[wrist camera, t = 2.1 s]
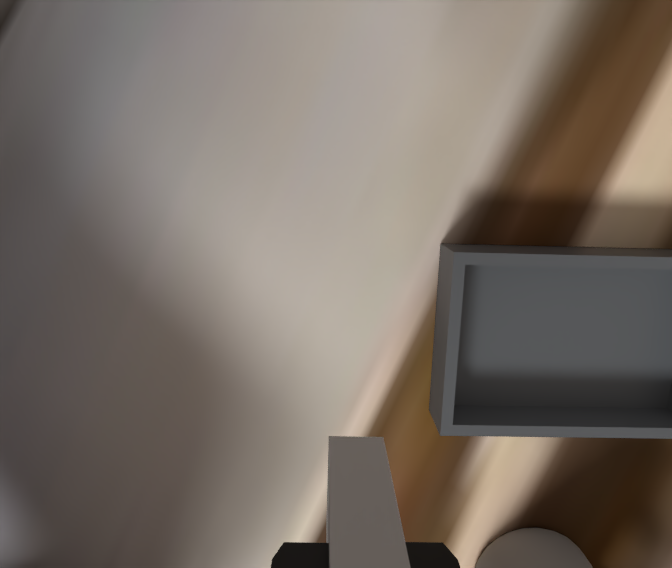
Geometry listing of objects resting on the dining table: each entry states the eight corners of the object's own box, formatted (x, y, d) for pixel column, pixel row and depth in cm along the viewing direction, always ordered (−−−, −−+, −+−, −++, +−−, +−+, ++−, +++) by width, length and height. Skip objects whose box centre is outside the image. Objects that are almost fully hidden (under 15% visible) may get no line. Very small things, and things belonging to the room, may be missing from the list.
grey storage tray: (429, 409, 31) (440, 435, 28) (440, 243, 29) (453, 252, 26) (668, 413, 31) (704, 439, 28) (696, 249, 29) (738, 259, 26)
